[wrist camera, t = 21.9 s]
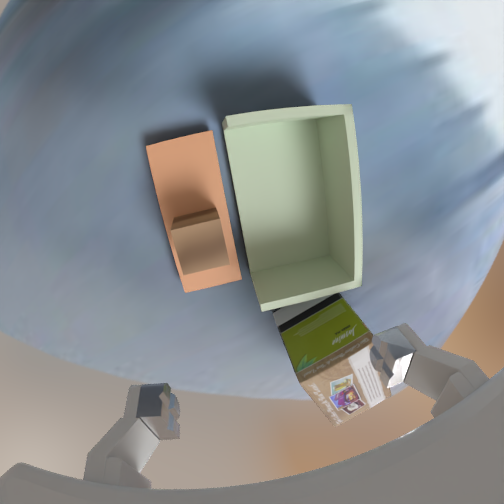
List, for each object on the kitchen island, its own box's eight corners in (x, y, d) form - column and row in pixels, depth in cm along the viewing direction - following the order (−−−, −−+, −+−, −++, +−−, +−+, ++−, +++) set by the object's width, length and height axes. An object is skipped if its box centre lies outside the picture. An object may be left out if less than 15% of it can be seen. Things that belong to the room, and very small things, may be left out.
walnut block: (173, 217, 31) (170, 230, 26) (216, 207, 31) (220, 218, 27) (184, 256, 33) (183, 275, 28) (224, 247, 33) (230, 264, 29)
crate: (221, 123, 29) (225, 116, 21) (319, 111, 30) (351, 104, 22) (250, 275, 37) (261, 311, 29) (333, 257, 38) (361, 285, 30)
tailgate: (211, 130, 29) (147, 146, 28) (212, 130, 28) (145, 146, 27) (240, 274, 36) (185, 287, 36) (242, 279, 35) (185, 292, 34)
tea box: (355, 338, 45) (393, 397, 32) (306, 365, 46) (333, 430, 33) (329, 277, 39) (379, 340, 26) (269, 311, 40) (296, 387, 27)
